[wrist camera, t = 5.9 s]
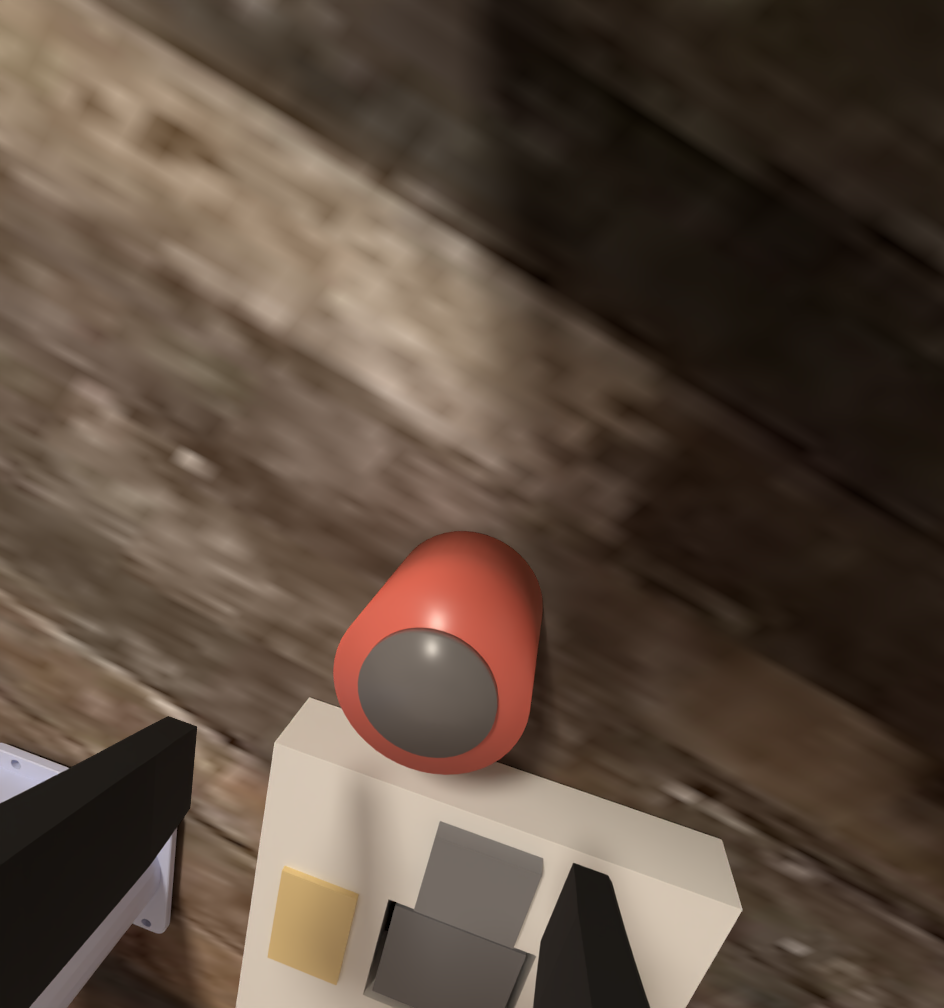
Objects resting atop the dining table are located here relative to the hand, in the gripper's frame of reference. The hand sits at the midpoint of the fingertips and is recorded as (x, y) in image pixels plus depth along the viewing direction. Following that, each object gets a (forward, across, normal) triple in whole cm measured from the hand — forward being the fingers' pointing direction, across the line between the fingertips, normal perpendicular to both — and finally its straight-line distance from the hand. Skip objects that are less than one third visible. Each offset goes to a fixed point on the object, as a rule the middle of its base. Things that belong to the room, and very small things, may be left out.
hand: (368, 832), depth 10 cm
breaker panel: (+9, -3, +14) cm, 17 cm away
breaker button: (+9, -3, +14) cm, 17 cm away
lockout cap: (+9, 0, 0) cm, 9 cm away
